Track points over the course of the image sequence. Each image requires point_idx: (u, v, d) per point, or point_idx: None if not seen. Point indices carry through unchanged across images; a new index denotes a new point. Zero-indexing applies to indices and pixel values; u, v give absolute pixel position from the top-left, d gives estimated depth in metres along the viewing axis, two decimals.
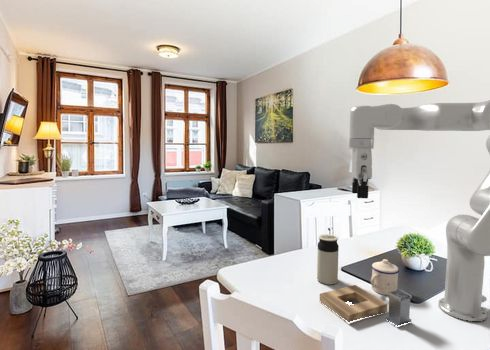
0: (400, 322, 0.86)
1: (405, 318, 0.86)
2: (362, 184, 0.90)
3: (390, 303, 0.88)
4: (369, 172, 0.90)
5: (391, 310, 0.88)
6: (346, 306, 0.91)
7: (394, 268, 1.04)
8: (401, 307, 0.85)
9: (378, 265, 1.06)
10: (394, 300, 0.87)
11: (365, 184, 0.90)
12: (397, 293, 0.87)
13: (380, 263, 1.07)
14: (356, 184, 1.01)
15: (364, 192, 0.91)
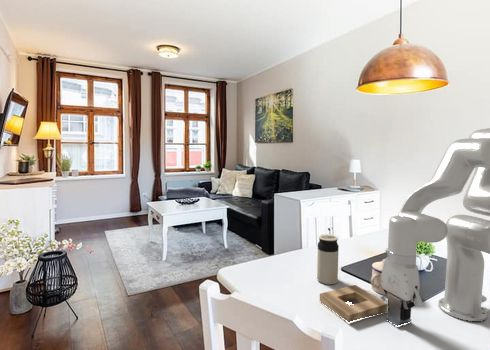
0: (400, 322, 0.86)
1: None
2: None
3: (389, 303, 0.88)
4: None
5: (391, 310, 0.88)
6: (346, 306, 0.91)
7: None
8: (401, 306, 0.85)
9: (378, 265, 1.06)
10: (394, 300, 0.87)
11: None
12: None
13: (380, 263, 1.07)
14: None
15: None
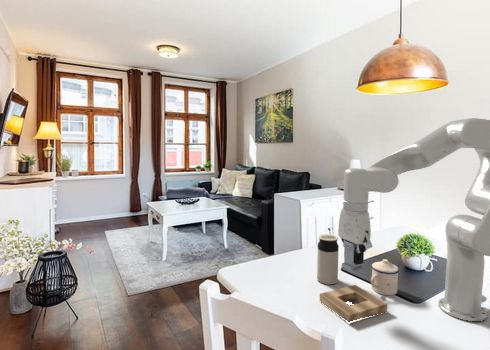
0: (353, 266, 0.92)
1: None
2: None
3: (345, 249, 0.95)
4: None
5: (346, 256, 0.95)
6: (346, 306, 0.91)
7: (394, 268, 1.04)
8: (354, 251, 0.92)
9: (378, 265, 1.06)
10: (348, 246, 0.94)
11: None
12: None
13: (380, 263, 1.07)
14: None
15: None
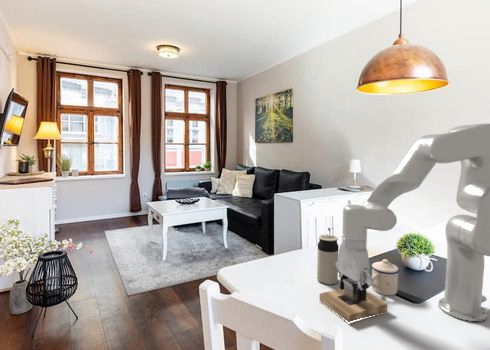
0: None
1: (358, 302, 0.94)
2: None
3: (344, 289, 0.96)
4: None
5: (346, 295, 0.96)
6: (346, 306, 0.91)
7: (394, 268, 1.04)
8: (353, 292, 0.93)
9: (378, 265, 1.06)
10: (348, 286, 0.95)
11: None
12: (351, 280, 0.96)
13: (380, 263, 1.07)
14: None
15: None
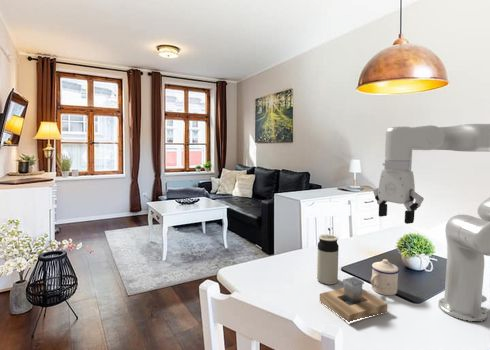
0: None
1: (358, 302, 0.94)
2: None
3: (344, 289, 0.96)
4: None
5: (346, 295, 0.96)
6: (346, 306, 0.91)
7: (394, 268, 1.04)
8: (353, 292, 0.93)
9: (378, 265, 1.06)
10: (348, 286, 0.95)
11: None
12: (351, 280, 0.96)
13: (380, 263, 1.07)
14: None
15: None
